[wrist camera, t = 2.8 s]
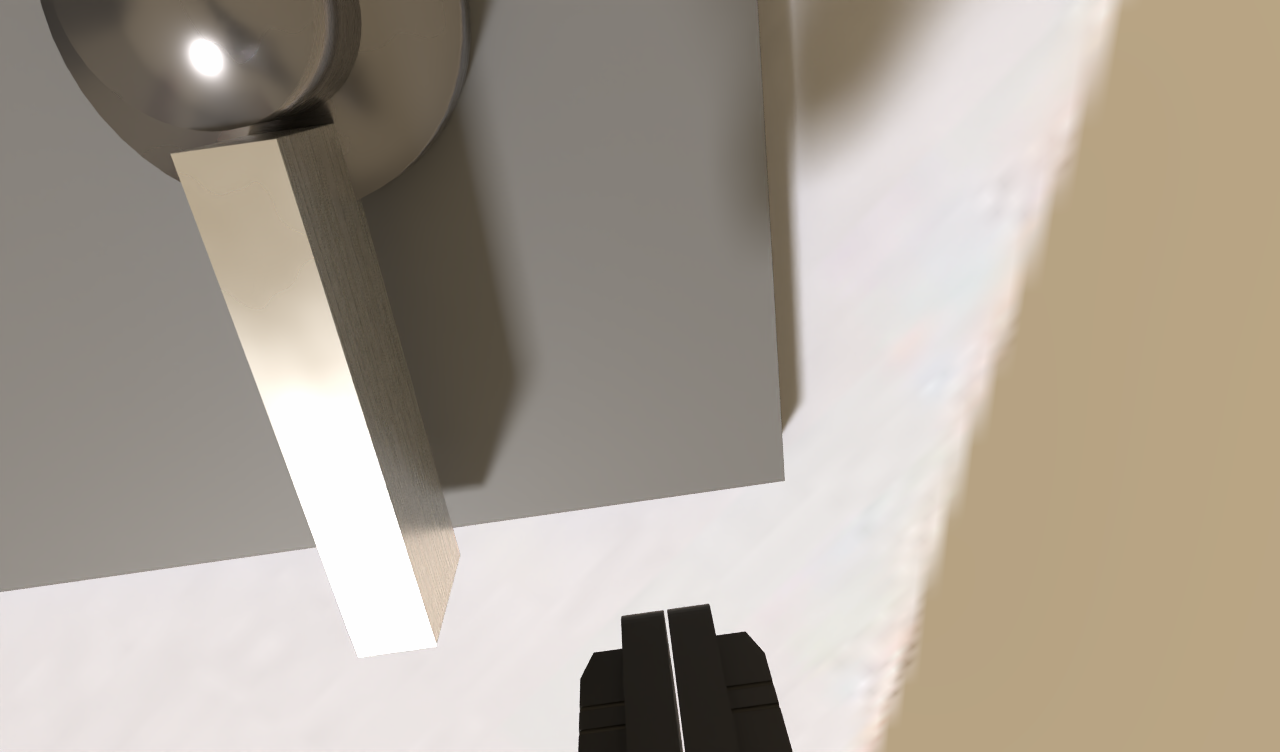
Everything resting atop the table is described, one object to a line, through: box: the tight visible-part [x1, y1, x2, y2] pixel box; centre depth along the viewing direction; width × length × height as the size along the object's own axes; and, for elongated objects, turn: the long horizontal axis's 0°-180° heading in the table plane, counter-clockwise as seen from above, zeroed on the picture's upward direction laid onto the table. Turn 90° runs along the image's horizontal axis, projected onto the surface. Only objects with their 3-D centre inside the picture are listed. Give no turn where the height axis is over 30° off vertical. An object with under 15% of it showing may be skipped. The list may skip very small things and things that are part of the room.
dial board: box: [0, 0, 785, 592], centre depth 15 cm, size 24×24×2 cm
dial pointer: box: [40, 0, 471, 657], centre depth 14 cm, size 16×7×4 cm, turn 7°
